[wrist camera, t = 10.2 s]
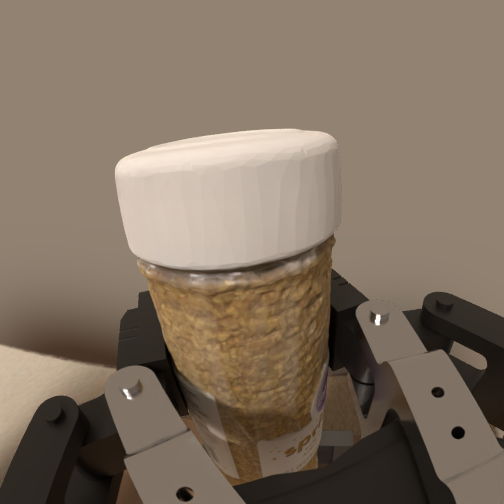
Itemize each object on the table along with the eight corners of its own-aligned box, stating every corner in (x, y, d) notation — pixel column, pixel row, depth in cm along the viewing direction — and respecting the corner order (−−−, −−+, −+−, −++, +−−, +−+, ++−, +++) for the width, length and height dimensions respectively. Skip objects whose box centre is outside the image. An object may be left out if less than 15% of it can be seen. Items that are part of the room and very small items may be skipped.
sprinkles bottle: (323, 503, 9) (377, 133, 4) (215, 509, 9) (63, 172, 4) (311, 424, 13) (313, 124, 8) (221, 430, 14) (151, 142, 8)
